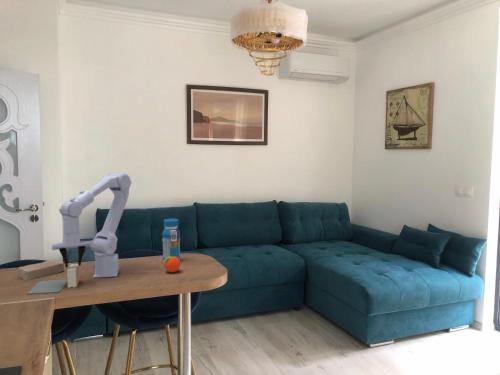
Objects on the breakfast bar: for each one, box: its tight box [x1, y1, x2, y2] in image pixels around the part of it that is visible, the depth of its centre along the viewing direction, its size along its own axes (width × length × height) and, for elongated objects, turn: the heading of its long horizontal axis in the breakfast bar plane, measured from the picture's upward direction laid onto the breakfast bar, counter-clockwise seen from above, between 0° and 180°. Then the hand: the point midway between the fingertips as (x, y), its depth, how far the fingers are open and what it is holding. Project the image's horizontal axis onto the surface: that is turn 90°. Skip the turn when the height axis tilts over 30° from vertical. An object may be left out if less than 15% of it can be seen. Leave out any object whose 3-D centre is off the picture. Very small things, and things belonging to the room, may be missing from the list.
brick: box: [17, 259, 65, 281], centre depth 179 cm, size 17×8×5 cm, turn 141°
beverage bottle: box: [161, 218, 181, 262], centre depth 200 cm, size 8×8×20 cm
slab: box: [66, 263, 80, 289], centre depth 165 cm, size 3×8×7 cm, turn 14°
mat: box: [27, 279, 68, 295], centre depth 162 cm, size 11×15×1 cm
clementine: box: [162, 256, 181, 273], centre depth 182 cm, size 8×7×7 cm
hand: (73, 266), depth 165 cm, fingers open, 4 cm apart
